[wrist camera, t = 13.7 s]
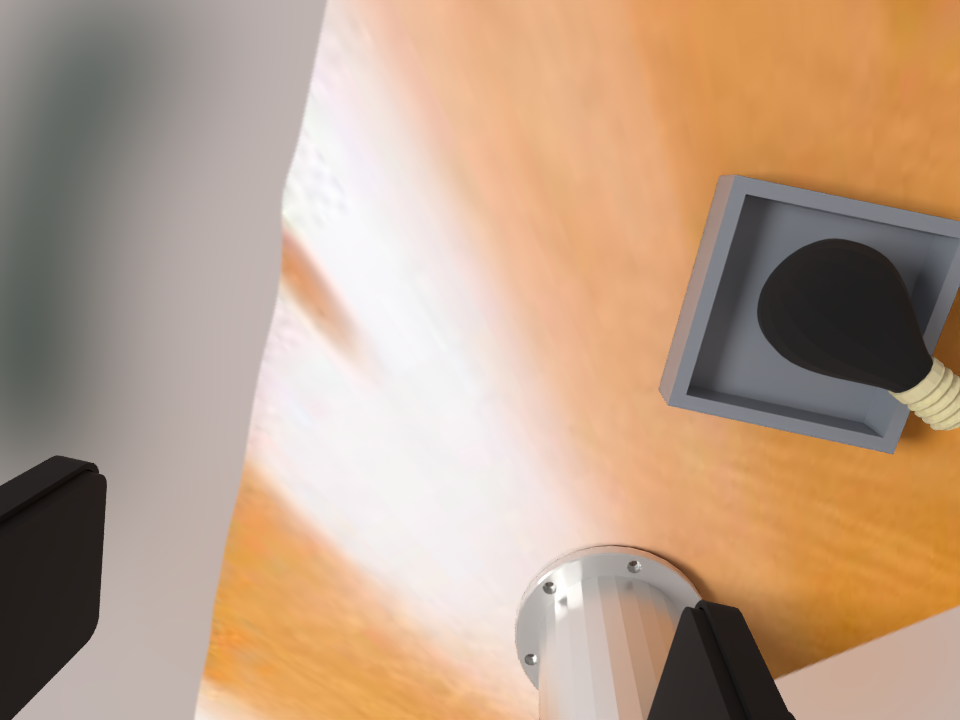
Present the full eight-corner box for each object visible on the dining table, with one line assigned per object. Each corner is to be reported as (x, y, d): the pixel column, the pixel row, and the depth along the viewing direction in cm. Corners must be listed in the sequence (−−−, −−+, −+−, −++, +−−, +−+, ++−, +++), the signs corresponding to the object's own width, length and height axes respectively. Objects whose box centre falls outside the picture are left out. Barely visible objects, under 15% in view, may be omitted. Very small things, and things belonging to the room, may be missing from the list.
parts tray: (867, 434, 40) (893, 454, 37) (658, 389, 40) (667, 405, 38) (947, 223, 37) (983, 226, 34) (719, 175, 37) (735, 174, 34)
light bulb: (1032, 438, 29) (822, 262, 29) (895, 487, 35) (717, 338, 35) (1031, 345, 34) (847, 191, 33) (909, 402, 39) (750, 269, 39)
